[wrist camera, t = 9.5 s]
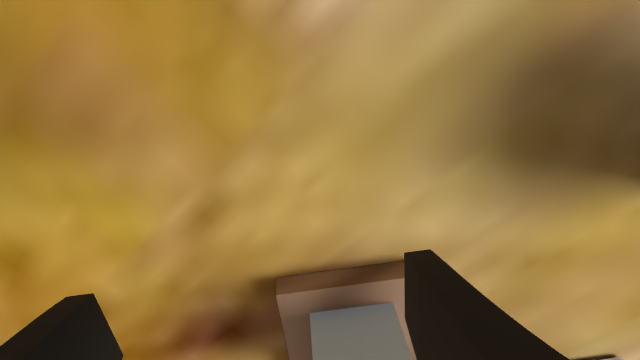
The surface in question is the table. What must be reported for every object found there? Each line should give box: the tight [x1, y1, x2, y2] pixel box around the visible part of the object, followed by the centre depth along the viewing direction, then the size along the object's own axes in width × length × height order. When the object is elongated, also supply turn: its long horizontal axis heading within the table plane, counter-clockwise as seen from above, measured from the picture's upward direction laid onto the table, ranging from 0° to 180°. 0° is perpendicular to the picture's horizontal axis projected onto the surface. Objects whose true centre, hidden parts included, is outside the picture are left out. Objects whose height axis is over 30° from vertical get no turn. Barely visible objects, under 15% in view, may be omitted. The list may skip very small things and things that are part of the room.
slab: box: [276, 261, 417, 360], centre depth 23 cm, size 8×8×2 cm
